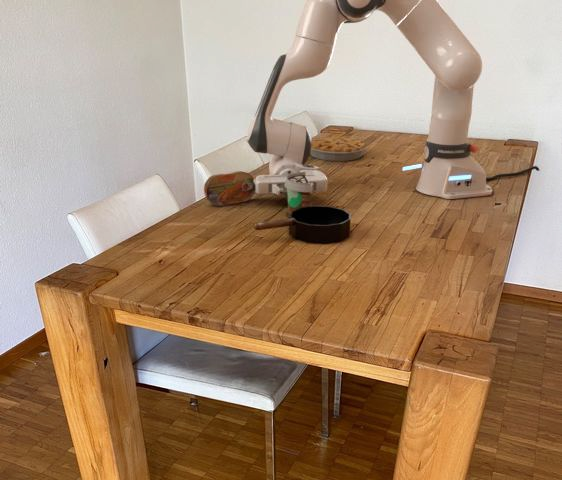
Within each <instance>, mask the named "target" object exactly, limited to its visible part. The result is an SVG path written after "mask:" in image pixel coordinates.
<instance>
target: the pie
mask: <svg viewBox="0 0 562 480" xmlns="http://www.w3.org/2000/svg"><path fill="white" fill-rule="evenodd" d="M367 148H368V146H367V143H366V142H365V141H364V140H359V139H358V138H350V137H348V136H346V137H340V136H334V137H330V136H325V137H323V138H317V137H316V138H315V139H311V150H310V155H311V157H313V158H315V159H319V160H323V161H330V162H331V161H332V162H348V161H354V160H358V159H360V158H361V157H362V156H363V154H364V152H365V151H366V149H367Z"/></svg>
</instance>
